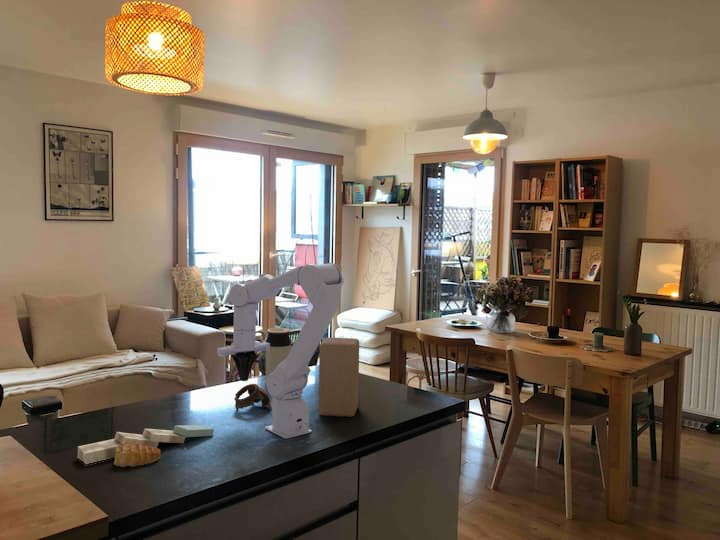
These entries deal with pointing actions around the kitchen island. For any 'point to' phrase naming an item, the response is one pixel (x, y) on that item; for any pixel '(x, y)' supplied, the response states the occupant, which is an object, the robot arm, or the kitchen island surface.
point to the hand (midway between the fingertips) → (243, 380)
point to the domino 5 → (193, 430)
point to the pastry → (135, 455)
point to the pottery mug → (252, 397)
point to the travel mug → (277, 348)
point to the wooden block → (338, 376)
